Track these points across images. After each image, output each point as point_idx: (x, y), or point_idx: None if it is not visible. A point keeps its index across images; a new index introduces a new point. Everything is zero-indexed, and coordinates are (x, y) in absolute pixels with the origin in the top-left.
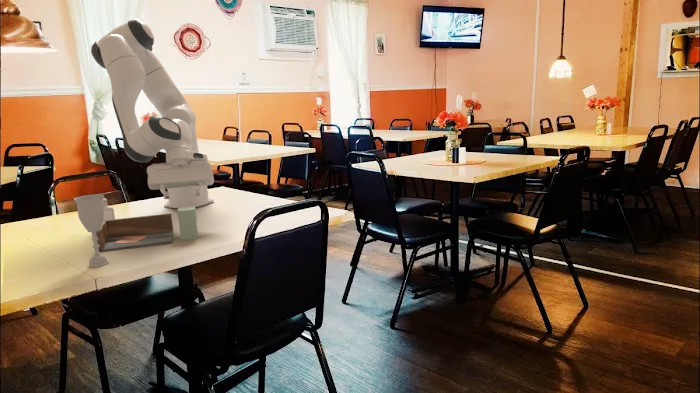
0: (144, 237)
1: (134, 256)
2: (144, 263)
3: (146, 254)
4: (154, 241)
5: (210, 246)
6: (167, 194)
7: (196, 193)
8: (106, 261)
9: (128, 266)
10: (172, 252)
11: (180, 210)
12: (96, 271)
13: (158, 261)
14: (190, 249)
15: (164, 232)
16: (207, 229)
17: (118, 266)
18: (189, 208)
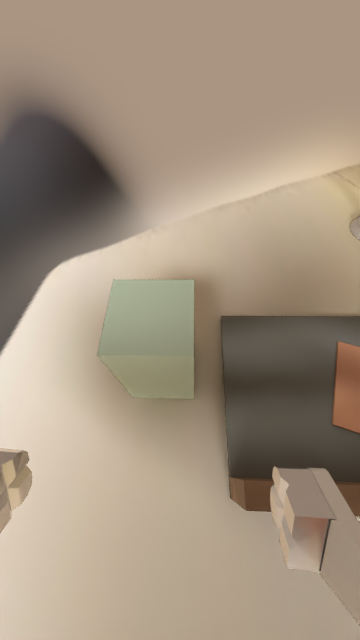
0: (334, 402)
1: (303, 250)
2: (264, 207)
3: (275, 254)
4: (278, 337)
5: (123, 257)
6: (294, 477)
7: (13, 450)
8: (356, 222)
9: (294, 202)
10: (213, 247)
11: (180, 286)
12: (352, 197)
13: (237, 208)
14: (171, 253)
15: (265, 461)
16: (84, 457)
17: (316, 207)
18: (134, 308)
